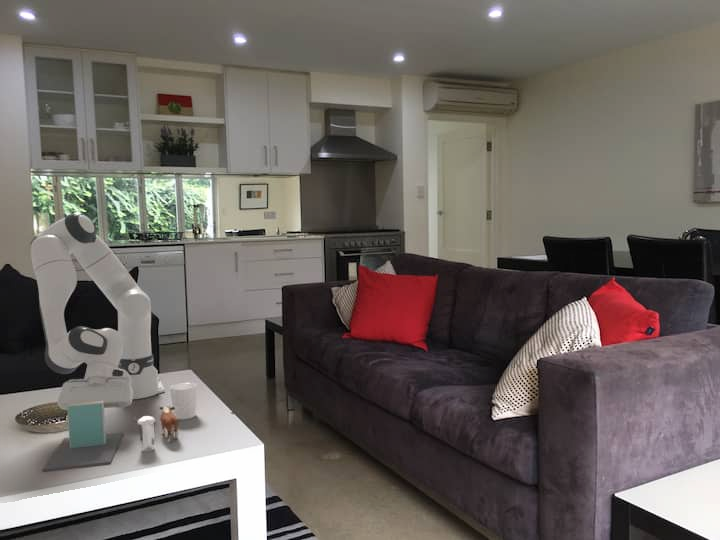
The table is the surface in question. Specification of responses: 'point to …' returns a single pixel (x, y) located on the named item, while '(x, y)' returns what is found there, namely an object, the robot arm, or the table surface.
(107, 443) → the mat
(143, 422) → the milkshake
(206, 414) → the table surface
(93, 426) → the tile
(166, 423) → the bull figurine
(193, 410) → the white cup
